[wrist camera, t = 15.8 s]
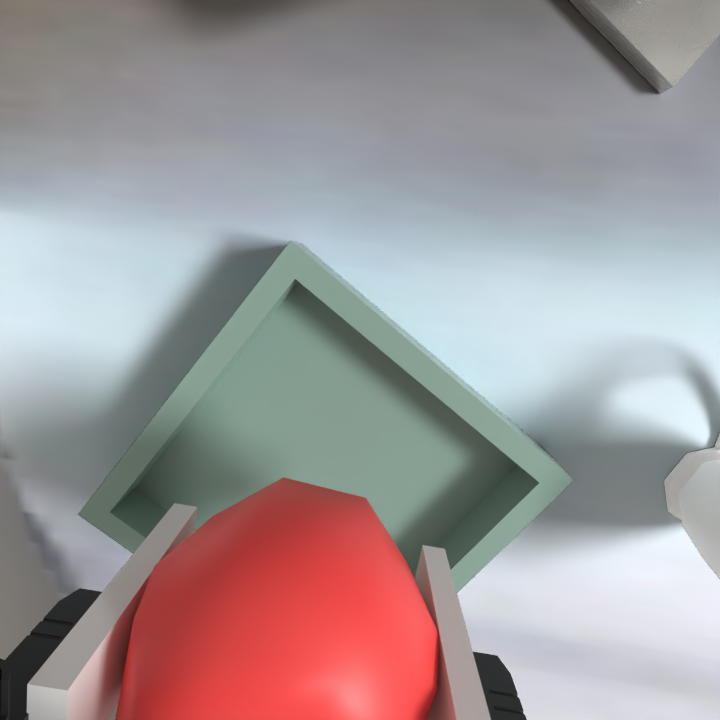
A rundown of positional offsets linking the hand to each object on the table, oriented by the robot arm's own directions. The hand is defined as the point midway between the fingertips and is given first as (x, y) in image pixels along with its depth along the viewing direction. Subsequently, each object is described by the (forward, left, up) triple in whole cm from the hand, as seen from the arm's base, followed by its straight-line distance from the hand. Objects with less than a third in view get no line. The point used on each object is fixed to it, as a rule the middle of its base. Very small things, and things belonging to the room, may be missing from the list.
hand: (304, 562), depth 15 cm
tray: (0, 0, -7) cm, 7 cm away
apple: (0, 0, 0) cm, 0 cm away
